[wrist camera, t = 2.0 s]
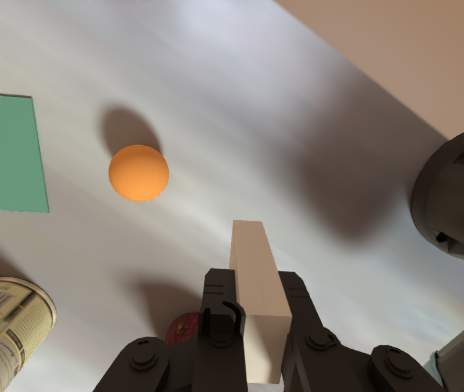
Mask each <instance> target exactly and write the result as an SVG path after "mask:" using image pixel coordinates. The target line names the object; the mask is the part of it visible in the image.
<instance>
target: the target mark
mask: <svg viewBox="0 0 464 392" xmlns="http://www.w3.org/2000/svg"><path fill="white" fill-rule="evenodd" d="M0 210H12V211H28V212H43V213H49V207H48V200H47V193H46V187H45V180H44V174H43V167H42V160H41V154H40V147H39V140H38V134H37V127H36V120H35V114H34V107H33V100H32V98H21V97H9V96H0Z"/></svg>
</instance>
